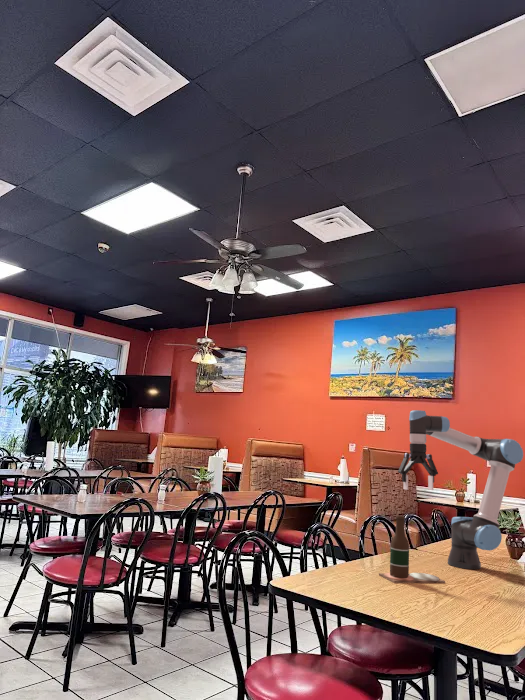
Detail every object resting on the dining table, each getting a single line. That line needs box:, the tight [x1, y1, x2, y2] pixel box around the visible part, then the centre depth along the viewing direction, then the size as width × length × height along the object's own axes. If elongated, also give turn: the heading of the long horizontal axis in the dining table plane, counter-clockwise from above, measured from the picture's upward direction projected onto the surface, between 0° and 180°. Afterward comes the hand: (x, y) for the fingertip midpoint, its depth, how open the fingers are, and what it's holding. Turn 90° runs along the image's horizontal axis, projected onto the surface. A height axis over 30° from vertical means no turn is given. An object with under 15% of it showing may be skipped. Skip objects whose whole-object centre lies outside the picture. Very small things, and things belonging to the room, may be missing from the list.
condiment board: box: [378, 572, 446, 584], centre depth 212 cm, size 24×12×1 cm, turn 106°
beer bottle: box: [389, 515, 410, 578], centre depth 213 cm, size 8×8×24 cm
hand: (418, 489), depth 235 cm, fingers open, 13 cm apart
